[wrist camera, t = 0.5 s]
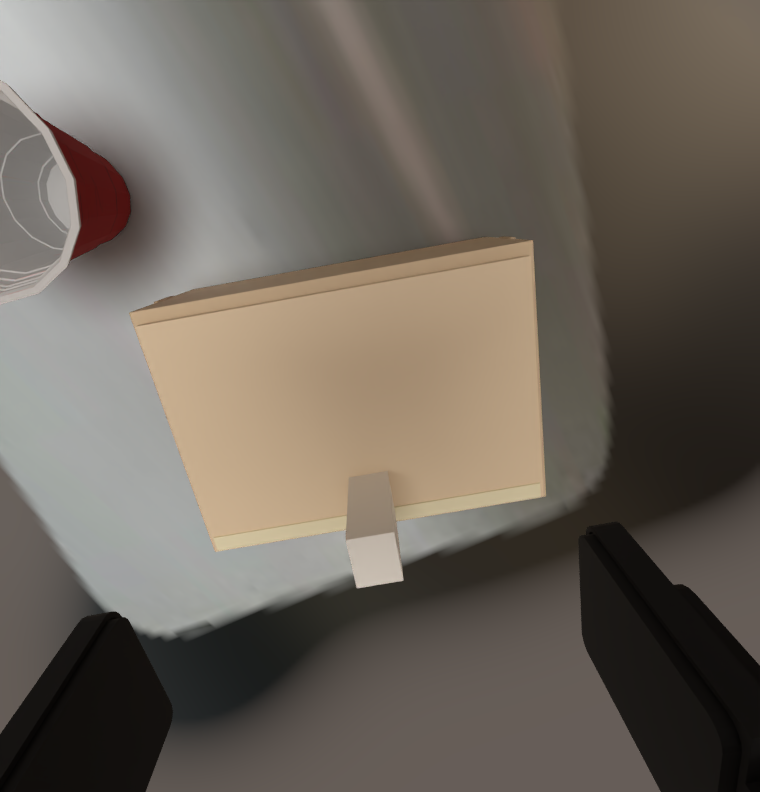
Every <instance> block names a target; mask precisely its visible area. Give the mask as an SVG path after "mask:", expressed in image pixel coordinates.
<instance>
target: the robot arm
mask: <svg viewBox="0 0 760 792" xmlns="http://www.w3.org/2000/svg"><path fill="white" fill-rule="evenodd" d="M579 568H580V594H581V621H582V636H583V641H584V644H585V647H586V649H587V652H588V654H589V656H590V658H591V660H592V661H593V663H594V665H595V667H596V669H597V671H598V673H599V675H600V677H601V679H602V680H603V682H604V684H605V686H606V688H607V690H608V692H609V694H610V696H611V698H612V700H613V702H614V703H615V705H616V707H617V709H618V711H619V713H620V715H621V717H622V719H623V720H624V722H625V724H626V726H627V728H628V730H629V732H630V734H631V736H632V738H633V740H634V741H635V743H636V745H637V747H638V749H639V751H640V753H641V755H642V757H643V759H644V760H645V762H646V764H647V766H648V768H649V770H650V772H651V774H652V776H653V778H654V780H655V781H656V783H657V785H658V787H659V789H660V791H661V792H760V665H759V664H758V663H757V662H756V661H755V660H754V659H753V658H752V656H751V655H749V653H748V652H747V651H746V650H745V649H744V648H743V647H742V645H741V644H740V643H739V642H738V641H737V640H736V639H735V638H734V636H733V635H732V634H731V633H730V632H729V631H728V630H727V629H726V627H724V626H723V624H722V623H721V622H720V621H719V620H718V619H717V617H716V616H715V615H714V614H713V613H712V612H711V611H710V610H709V608H708V607H707V606H706V605H705V604H704V603H703V602H702V601H701V600H700V598H699V597H698V596H697V595H696V594H695V593H694V592H693V591H692V590H691V589H689V588H688V587H686V586H684V585H682V584H678V585H673V584H672V583H671V582H670V581H669V579H668V578H667V577H666V576H665V575H664V574H663V572H662V571H661V570H660V569H659V568H658V567H657V566H656V564H655V563H654V562H653V561H652V560H651V558H650V557H649V556H648V555H647V554H646V553H645V551H644V550H643V549H642V548H641V547H640V546H639V544H638V543H637V542H636V541H635V540H634V539H633V538H632V536H631V535H630V534H629V533H628V532H627V530H626V529H625V528H624V527H623V526H622V525H621V524H620V523H618V522H611V523H605V524H600V525H595V526H589V527H587V529H586V535H582V536H580V537H579ZM172 713H173V710H172V705H171V702H170V700H169V698H168V696H167V694H166V692H165V690H164V688H163V686H162V685H161V683H160V680H159V679H158V677H157V675H156V673H155V671H154V669H153V667H152V665H151V663H150V661H149V659H148V657H147V655H146V653H145V651H144V649H143V647H142V646H141V643H140V642H139V640H138V638H137V636H136V634H135V632H134V630H133V628H132V626H131V624H130V622H129V620H128V619H127V618H125V617H122V616H121V615H120V614H119V613H117V612H107V613H102V614H96V615H91V616H87V617H85V618H83V619H82V620H81V621H80V622H79V623H78V624H77V626H76V627H75V628H74V630H73V631H72V633H71V634H70V636H69V637H68V638H67V640H66V641H65V643H64V644H63V645H62V647H61V648H60V650H59V651H58V653H57V654H56V656H55V657H54V658H53V660H52V661H51V663H50V664H49V665H48V667H47V668H46V670H45V671H44V673H43V674H42V675H41V677H40V678H39V680H38V681H37V683H36V684H35V685H34V687H33V688H32V690H31V691H30V693H29V694H28V695H27V697H26V698H25V700H24V701H23V703H22V704H21V706H20V707H19V709H18V710H17V711H16V713H15V714H14V715H13V717H12V718H11V720H10V721H9V722H8V724H7V725H6V727H5V728H4V730H3V731H2V733H1V734H0V792H146V789H147V786H148V783H149V781H150V778H151V776H152V773H153V770H154V768H155V765H156V762H157V760H158V757H159V754H160V752H161V749H162V747H163V744H164V741H165V738H166V736H167V733H168V731H169V728H170V725H171V721H172Z"/></svg>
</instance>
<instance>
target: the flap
mask: <svg viewBox="0 0 760 792" xmlns="http://www.w3.org/2000/svg"><path fill="white" fill-rule="evenodd" d="M135 329H136V332H137V335H138V337H139V340H140V343H141V346H142V348H143V351H144V354H145V357H146V360H147V362H148V365H149V368H150V371H151V373H152V376H153V379H154V382H155V384H156V387H157V390H158V393H159V396H160V398H161V401H162V404H163V407H164V409H165V412H166V415H167V418H168V421H169V423H170V426H171V429H172V432H173V434H174V437H175V440H176V443H177V446H178V448H179V451H180V454H181V457H182V459H183V462H184V465H185V468H186V470H187V473H188V476H189V479H190V482H191V484H192V487H193V490H194V493H195V495H196V498H197V501H198V504H199V507H200V509H201V512H202V515H203V518H204V520H205V523H206V526H207V529H208V532H209V534H210V537H211V540H212V543H213V545H214V548H215V551H216V552H217V551H223V550H229V549H235V548H241V547H247V546H253V545H259V544H265V543H271V542H277V541H282V540H288V539H294V538H300V537H306V536H312V535H318V534H324V533H330V532H336V531H342V530H346V544H347V548H348V552H349V556H350V561H351V565H352V569H353V573H354V578H355V582H356V586H357V588H361V587H367V586H373V585H379V584H386V583H392V582H397V581H403V574H402V564H401V556H400V548H399V539H398V531H397V523H396V521H402V520H408V519H414V518H420V517H426V516H432V515H438V514H444V513H450V512H456V511H462V510H468V509H474V508H480V507H486V506H492V505H498V504H504V503H510V502H516V501H522V500H528V499H534V498H540V497H544V495H543V476H542V458H541V439H540V420H539V402H538V383H537V364H536V346H535V327H534V308H533V290H532V271H531V256H528V255H526V256H520V257H514V258H509V259H503V260H498V261H492V262H487V263H481V264H475V265H470V266H464V267H459V268H453V269H447V270H442V271H436V272H431V273H425V274H420V275H414V276H408V277H403V278H397V279H392V280H386V281H380V282H375V283H369V284H364V285H358V286H352V287H347V288H341V289H336V290H330V291H325V292H319V293H313V294H308V295H302V296H297V297H291V298H285V299H280V300H274V301H269V302H263V303H258V304H252V305H246V306H241V307H235V308H230V309H224V310H218V311H213V312H207V313H202V314H196V315H191V316H185V317H179V318H174V319H168V320H163V321H157V322H151V323H146V324H140V325H138V326H135Z"/></svg>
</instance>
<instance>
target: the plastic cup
mask: <svg viewBox="0 0 760 792" xmlns="http://www.w3.org/2000/svg"><path fill="white" fill-rule="evenodd" d="M130 213H131V208H130V194H129V192H128V189H127V187H126V185H125V182H124V180H123V178H122V177H121V176H120V174H119V173H118V172H117V171H116V170H115V169H114V168H113V166H112V165H111V164H110V163H109V162H108V161H107V160H106V159H104V158H103V157H101V156H99V155H98V154H96V153H94V152H93V151H91V150H90V148H89V147H88V146H86V145H84V144H83V143H81V142H79V141H78V140H76V139H74V138H73V137H71V136H70V135H68V134H66V133H65V132H63V131H61V130H60V129H58V128H57V127H55V126H53V125H52V124H50V123H48V122H47V121H45V120H44V119H42V118H41V117H40V116H39V115H38V114H37V113H35V112H33V110H32V109H31V108H30V107H29V106H28V105H27V104H26V103H25V102H24V101H23V100H22V99H21V98H20V97H19V96H18V95H17V93H16V92H15V91H14V90H13V89H12V88H11V87H10V86H8V85H7V84H6V83H4V82H3V81H1V80H0V305H1V304H4V303H8V302H11V301H15V300H18V299H21V298H25V297H28V296H32V295H35V294H39V293H40V292H41V291H42V290H43V289H44V288H45V287H46V286H48V285H49V284H50V283H51V282H52V281H53V280H54V279H55V278H56V277H57V276H58V275H59V274H60V273H61V272H62V271H63V270H64V269H65V268H66V267H67V266H68V265H69V263H70V260H72V259H74V258H76V257H78V256H80V255H82V254H84V253H86V252H88V251H90V250H92V249H94V248H96V247H97V246H98V245H99V244H102V243H104V242H107V241H109V240H112V239H113V238H114V237H115V236H116V235H117V234H118V233H119V232H120V231H121V230H122V229H123V228H124V227H125V226H126V223H127V221H128V218H129V215H130Z"/></svg>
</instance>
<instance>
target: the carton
mask: <svg viewBox="0 0 760 792" xmlns="http://www.w3.org/2000/svg"><path fill="white" fill-rule="evenodd" d="M526 255H528V256H531V271H532V290H533V308H534V327H535V346H536V364H537V383H538V402H539V420H540V439H541V458H542V476H543V495H544V497H546V486H545V466H544V447H543V427H542V408H541V388H540V369H539V350H538V330H537V311H536V291H535V272H534V252H533V240H522V239H515V237H505V236H503V237H499V238H495V237H481V238H476V239H470V240H465V241H459V242H454V243H448V244H443V245H437V246H431V247H426V248H420V249H415V250H409V251H404V252H398V253H393V254H387V255H381V256H376V257H370V258H365V259H359V260H354V261H348V262H343V263H337V264H332V265H326V266H320V267H315V268H309V269H304V270H298V271H293V272H287V273H282V274H276V275H271V276H265V277H259V278H254V279H248V280H243V281H237V282H232V283H226V284H221V285H215V286H210V287H204V288H198V289H193V290H190V291H187V292H185V293H182V294H179V295H176V296H170V297H167V298H164V299H161V300H158V301H156V302H154V304H152V305H149V306H146V307H144V308H141V309H138V310H135V311H133V312H130V313H129V314H130V317H131V320H132V323H133V325H134V328H135V326H138V325H140V324H146V323H151V322H157V321H163V320H168V319H174V318H179V317H185V316H191V315H196V314H202V313H207V312H213V311H218V310H224V309H230V308H235V307H241V306H246V305H252V304H258V303H263V302H269V301H274V300H280V299H285V298H291V297H297V296H302V295H308V294H313V293H319V292H325V291H330V290H336V289H341V288H347V287H352V286H358V285H364V284H369V283H375V282H380V281H386V280H392V279H397V278H403V277H408V276H414V275H420V274H425V273H431V272H436V271H442V270H447V269H453V268H459V267H464V266H470V265H475V264H481V263H487V262H492V261H498V260H503V259H509V258H514V257H520V256H526ZM135 331H136V329H135ZM136 334H137V332H136ZM137 337H138V335H137ZM138 339H139V337H138ZM139 342H140V340H139ZM140 345H141V343H140ZM141 348H142V346H141ZM142 350H143V348H142ZM143 353H144V351H143ZM144 356H145V354H144ZM145 359H146V357H145ZM146 361H147V360H146ZM147 364H148V362H147ZM148 367H149V365H148ZM149 370H150V368H149ZM150 373H151V371H150ZM151 375H152V373H151ZM152 378H153V376H152ZM153 381H154V379H153ZM154 384H155V382H154ZM155 386H156V384H155ZM156 389H157V387H156ZM157 392H158V390H157ZM158 395H159V393H158ZM159 398H160V396H159ZM160 400H161V398H160ZM161 403H162V401H161ZM162 406H163V404H162ZM163 409H164V407H163ZM164 411H165V409H164ZM165 414H166V412H165ZM166 417H167V415H166ZM167 420H168V418H167ZM168 422H169V421H168ZM169 425H170V423H169ZM170 428H171V426H170ZM171 431H172V429H171ZM172 434H173V432H172ZM173 436H174V434H173ZM174 439H175V437H174ZM175 442H176V440H175ZM176 445H177V443H176ZM177 447H178V446H177ZM178 450H179V448H178ZM179 453H180V451H179ZM180 456H181V454H180ZM181 458H182V457H181ZM182 461H183V459H182ZM183 464H184V462H183ZM184 467H185V465H184ZM185 470H186V468H185ZM186 472H187V470H186ZM187 475H188V473H187ZM188 478H189V476H188ZM189 481H190V479H189ZM190 483H191V482H190ZM191 486H192V484H191ZM192 489H193V487H192ZM193 492H194V490H193ZM194 494H195V493H194ZM195 497H196V495H195ZM196 500H197V498H196ZM197 503H198V501H197ZM198 506H199V504H198ZM199 508H200V507H199ZM200 511H201V509H200ZM201 514H202V512H201ZM202 517H203V515H202ZM203 519H204V518H203ZM204 522H205V520H204ZM205 525H206V523H205ZM206 528H207V526H206ZM207 530H208V529H207ZM208 533H209V532H208ZM209 536H210V534H209ZM210 539H211V537H210ZM282 541H283V540H282ZM211 542H212V540H211ZM212 544H213V543H212ZM213 547H214V545H213ZM214 550H215V548H214ZM215 552H216V551H215Z"/></svg>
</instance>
